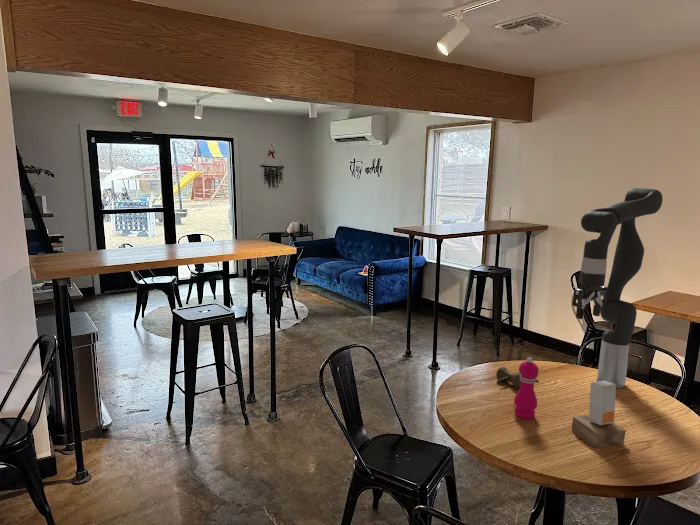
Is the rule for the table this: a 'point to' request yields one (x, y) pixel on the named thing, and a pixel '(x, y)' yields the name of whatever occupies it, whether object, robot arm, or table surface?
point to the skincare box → (602, 402)
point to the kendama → (509, 377)
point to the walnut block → (598, 432)
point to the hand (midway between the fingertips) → (587, 317)
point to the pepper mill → (526, 390)
